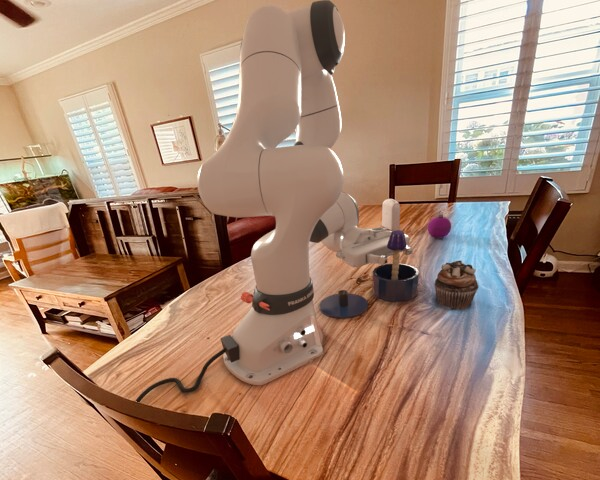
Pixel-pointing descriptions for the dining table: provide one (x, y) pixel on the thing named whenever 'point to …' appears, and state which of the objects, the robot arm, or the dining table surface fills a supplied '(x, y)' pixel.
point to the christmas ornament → (439, 226)
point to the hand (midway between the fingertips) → (398, 256)
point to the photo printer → (391, 214)
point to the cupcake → (456, 285)
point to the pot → (395, 283)
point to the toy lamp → (396, 250)
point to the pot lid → (343, 305)
